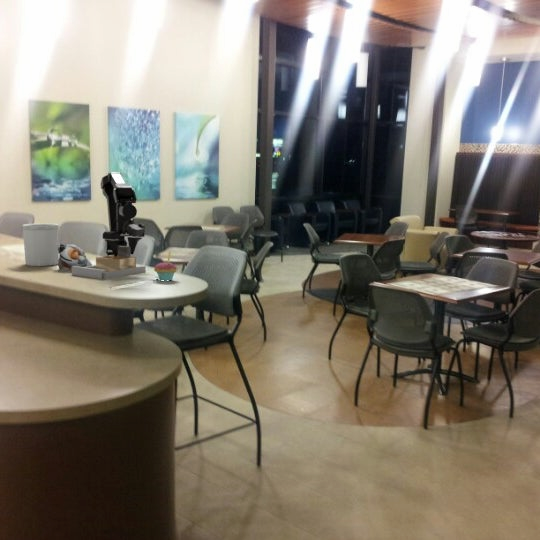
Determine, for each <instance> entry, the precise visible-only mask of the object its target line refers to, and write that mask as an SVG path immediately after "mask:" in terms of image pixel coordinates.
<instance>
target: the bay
mask: <svg viewBox="0 0 540 540" xmlns="http://www.w3.org/2000/svg"><path fill="white" fill-rule="evenodd" d="M141 273H143V274H144V273H147V271H146V265H142V266H136V267H134V268H128V269H122V270H116V271H110V272H106V270H101V269H96V264H95V265H93V264H92V266H87V267H79V266H72V269H71V275H72V276H78V277H84V278H90V279H98V280H99V279H100V280H108V279H115V278H119V277H124V276H125V277H126V276H130V275H137V274H141Z"/></svg>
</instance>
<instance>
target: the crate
mask: <svg viewBox="0 0 540 540" xmlns="http://www.w3.org/2000/svg"><path fill="white" fill-rule="evenodd" d="M95 265H96V269H101V270H106V272H110V271H116V270H122V269H128V268H134V267H137V257H135V256H131V253H130V247H129V245H127V246H118V256H117V257H115V256H114V255H109V256H107V255H101V256H96V257H95Z"/></svg>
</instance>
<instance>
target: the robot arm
mask: <svg viewBox="0 0 540 540" xmlns="http://www.w3.org/2000/svg"><path fill="white" fill-rule="evenodd" d="M100 189H101V190H102V195H103V196H104V197H105V198H106V203H107V214H108V215H107V217H108V225H109V226H108V229H109V231H104V232H103V233H102V240H104V241H105V242H104V245H103V252H104V254H106V256H109V255H114V256H115V257H117V256H118V246H128V247H130V255H134V254H135V250H136V248H137V244H138V242H139V241H141V240H142V239H143V237H144V238H145V231H146V226H145V224H144V223H139V224H135V221H134V218H136V216H137V214H138V213H137V212H138V210H137V208H136V206H135V205H134V204H136V203H137V201H138V200H137V196H136V192H135V189H134V188H133V187H132V186H131V184H127V183H126V182H125V181H124V179H123V177H122V174H121V172H118V171H117V172H116V171H110V172H108V173H107V174H106V175H104V176H103V177H102V178H101V180H100ZM125 237H127V239H125Z"/></svg>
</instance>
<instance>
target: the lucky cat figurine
mask: <svg viewBox="0 0 540 540" xmlns="http://www.w3.org/2000/svg"><path fill="white" fill-rule="evenodd" d="M58 252H59V260H58V264H57V267H58V269H59V271H62V270H72V266H79V267H87V266H93V264H92V262H91V261H90V260H89V258H88V257H87V255H86V253H85V251H84V250H83V249H82V247H79V246H77V245H76V244H74V243H73V244H69V243H68V244H65V245H64V244H62V243H58Z"/></svg>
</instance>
